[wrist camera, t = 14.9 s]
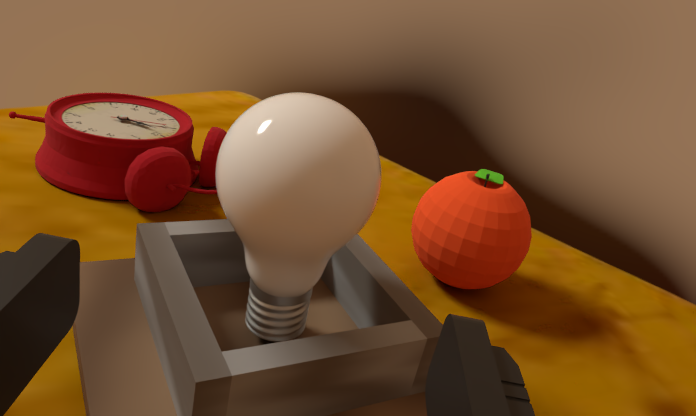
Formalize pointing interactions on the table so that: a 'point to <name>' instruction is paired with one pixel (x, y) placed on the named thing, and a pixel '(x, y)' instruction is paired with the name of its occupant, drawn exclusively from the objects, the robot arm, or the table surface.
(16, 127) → the table surface
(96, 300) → the socket stand
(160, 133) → the alarm clock
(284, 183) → the lightbulb
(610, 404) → the table surface
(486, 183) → the clementine
